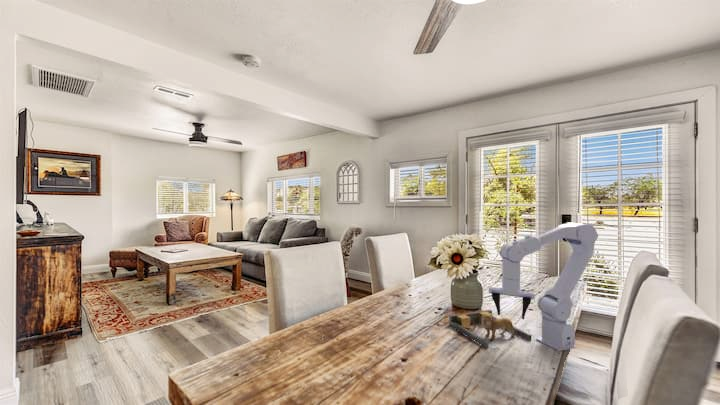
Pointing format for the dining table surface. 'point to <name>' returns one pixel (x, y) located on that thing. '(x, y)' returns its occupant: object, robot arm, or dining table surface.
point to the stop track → (473, 317)
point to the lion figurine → (496, 325)
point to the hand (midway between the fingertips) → (510, 316)
